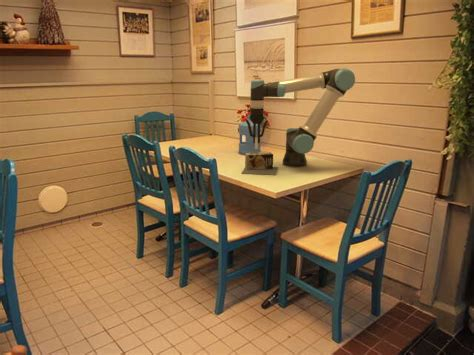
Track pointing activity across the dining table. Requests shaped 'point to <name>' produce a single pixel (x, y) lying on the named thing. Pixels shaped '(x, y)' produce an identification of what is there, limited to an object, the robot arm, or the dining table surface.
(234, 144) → the dining table surface
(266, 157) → the coffee box
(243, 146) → the water jug
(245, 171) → the mat
